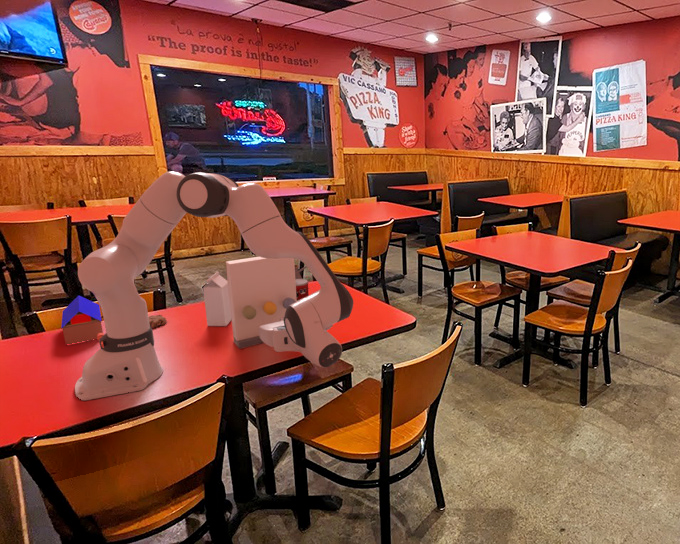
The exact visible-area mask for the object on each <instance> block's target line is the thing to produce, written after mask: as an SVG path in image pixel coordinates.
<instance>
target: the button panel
mask: <svg viewBox="0 0 680 544" xmlns="http://www.w3.org/2000/svg"><path fill="white" fill-rule="evenodd" d="M225 265H226V266H225V267H226V276H227V281H228V288H229V298H230V308H231V318H232V320H231V325H232V337H233V343H234V344H235V346H236V347H237V348H238V349H240V350H241V349H244V348H248V347H253V346H255V345H256V346H257V345H259V344H263V343H264V342H263V341H262V340H261V339H260V337H259V327H260V326H261V325H265V324H270V323H274V322H279V318H281V317H284V316H285V312H286V309H285V308H284V307H283V301H284V300H285V299H286V298H288V297H290V298H292V299H294V300H295V301H296V302H297V299H296V282H295V265H296V264H295V258H280V259H267V258H262V257H259V256H256V257H255V256H254V257H248V258H247V257H246V258H241V259H235V260H234V259H233V260H228V261H225ZM269 301H270V302H273V303H274V304H275V305H276V306H277V310H276V312H275V313H274V314H272V315H268V314H267V313H265V312H264V310H263V306H264V304H265V303H266V302H269ZM246 306H252V307H253V308H254V309H255V310H256V316H255V317H254V318H253V319H246V318H245V317H244V316H243V314H242V311H243V309H244V308H245V307H246ZM264 344H265V343H264Z"/></svg>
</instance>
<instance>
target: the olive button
mask: <svg viewBox="0 0 680 544" xmlns="http://www.w3.org/2000/svg"><path fill="white" fill-rule="evenodd" d="M242 314H243V316H244V317H245V318H246V319H253V318H254V317H255V316H256V310H255V309H254V308H253V307H252V306H246V307H245V308H244V309H243V311H242Z"/></svg>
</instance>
